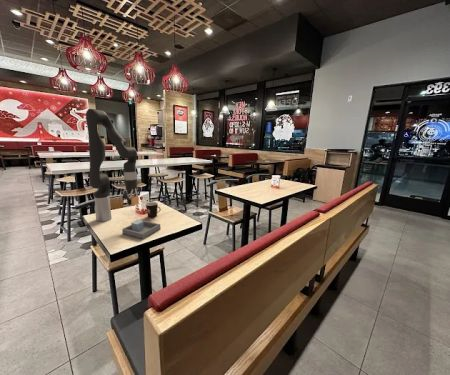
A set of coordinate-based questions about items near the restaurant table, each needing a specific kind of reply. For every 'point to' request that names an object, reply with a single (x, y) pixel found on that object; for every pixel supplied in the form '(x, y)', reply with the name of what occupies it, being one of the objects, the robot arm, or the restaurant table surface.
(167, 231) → the restaurant table surface
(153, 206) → the coffee mug
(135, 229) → the blue block
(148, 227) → the tray
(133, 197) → the orange block
